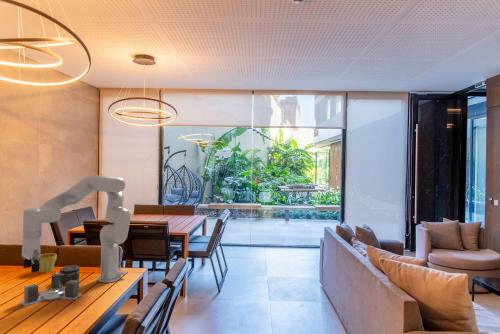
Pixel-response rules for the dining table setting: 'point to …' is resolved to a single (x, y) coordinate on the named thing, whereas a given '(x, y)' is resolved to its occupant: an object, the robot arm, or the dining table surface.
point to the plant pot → (47, 262)
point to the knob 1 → (31, 293)
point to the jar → (70, 273)
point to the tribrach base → (51, 296)
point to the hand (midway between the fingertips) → (31, 269)
